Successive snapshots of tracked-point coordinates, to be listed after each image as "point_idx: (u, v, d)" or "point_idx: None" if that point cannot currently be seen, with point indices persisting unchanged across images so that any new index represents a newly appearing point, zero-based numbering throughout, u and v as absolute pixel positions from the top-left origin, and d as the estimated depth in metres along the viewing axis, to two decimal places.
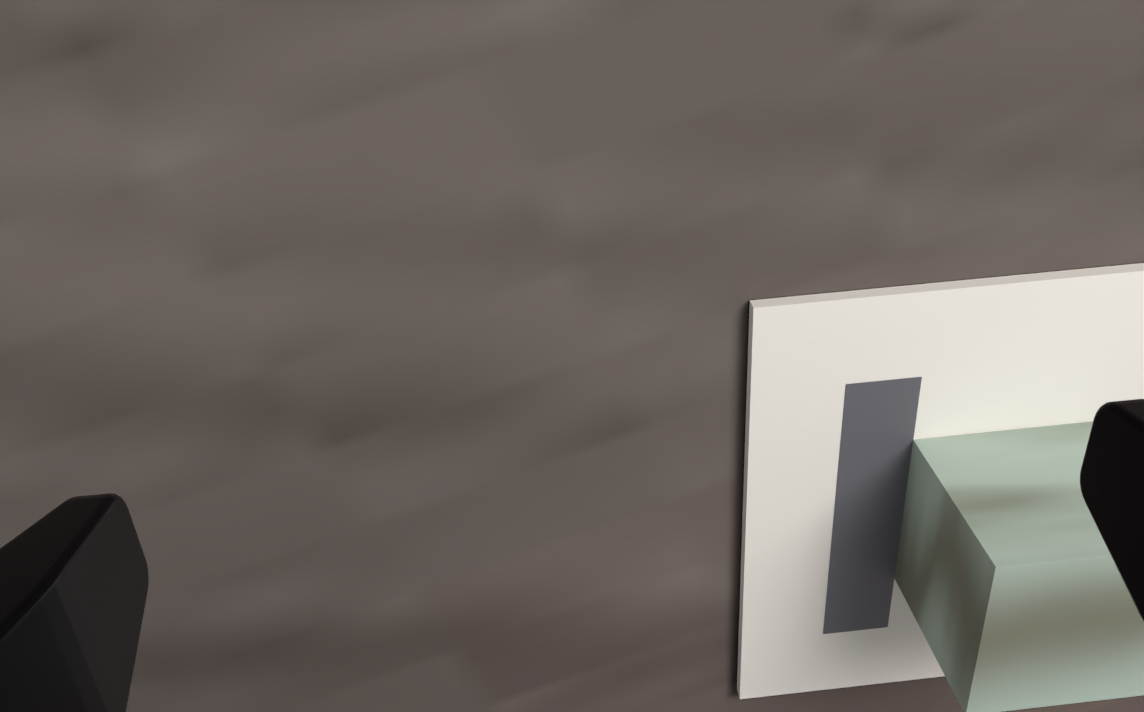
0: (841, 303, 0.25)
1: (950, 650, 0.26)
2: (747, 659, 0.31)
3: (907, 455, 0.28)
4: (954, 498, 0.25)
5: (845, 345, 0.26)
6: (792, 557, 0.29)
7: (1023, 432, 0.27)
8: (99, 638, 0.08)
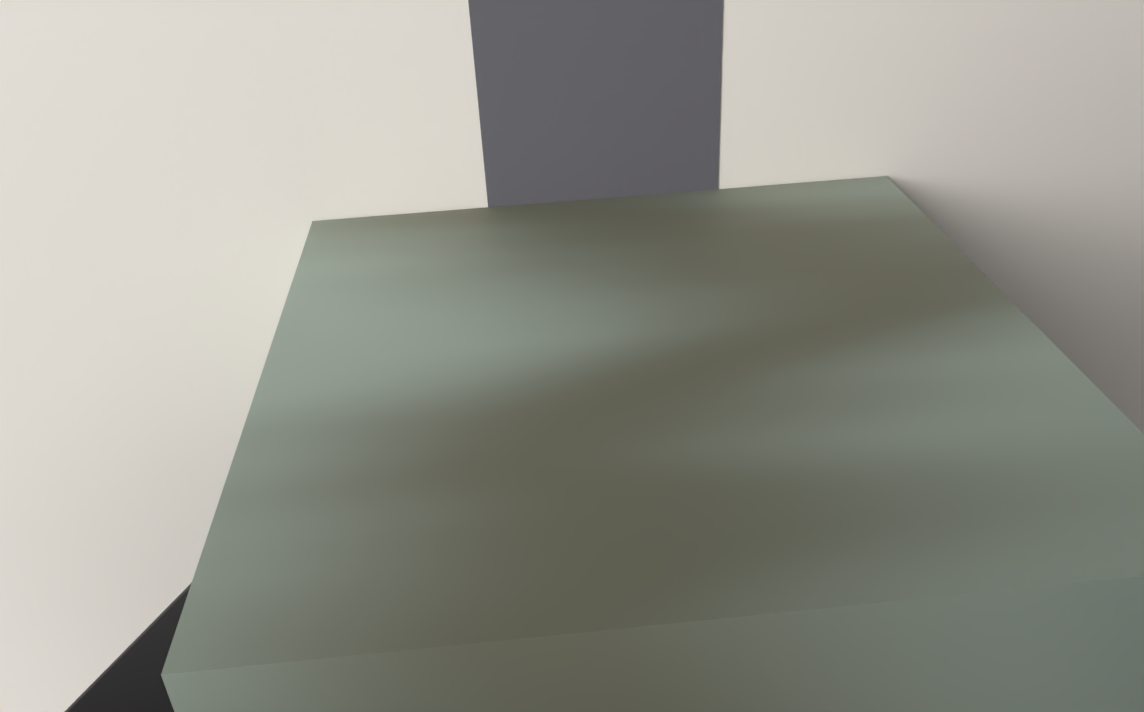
0: None
1: None
2: None
3: None
4: None
5: None
6: None
7: None
8: None
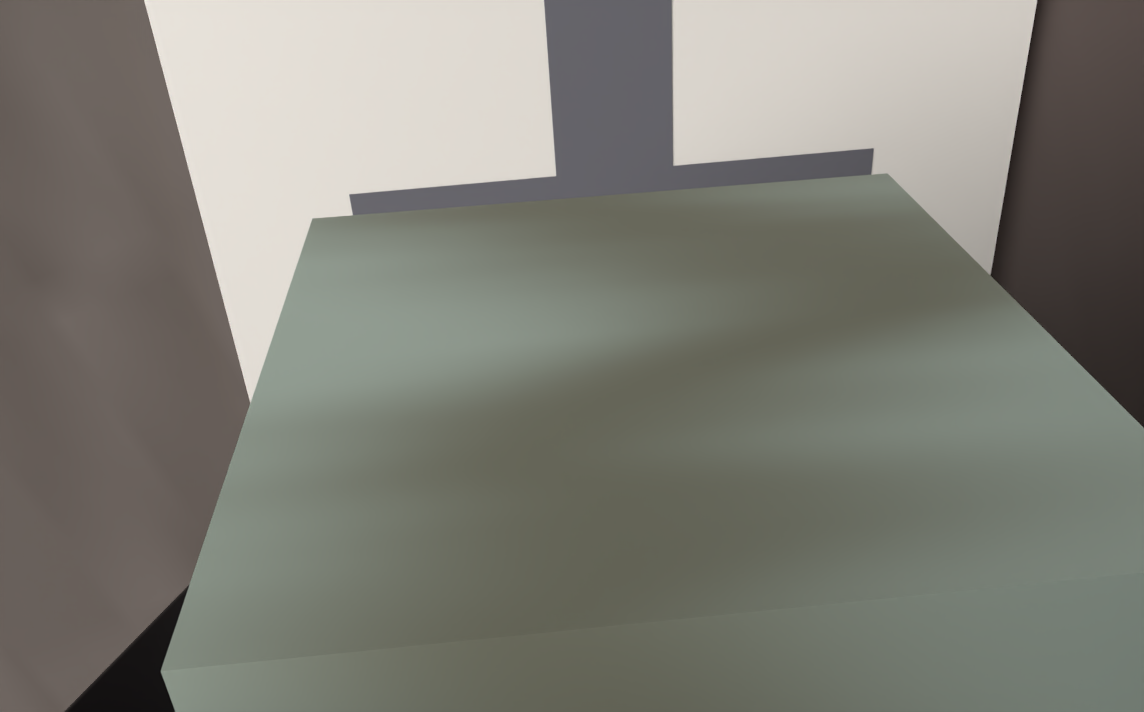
0: (238, 324, 0.18)
1: None
2: None
3: (503, 181, 0.17)
4: None
5: None
6: None
7: None
8: None
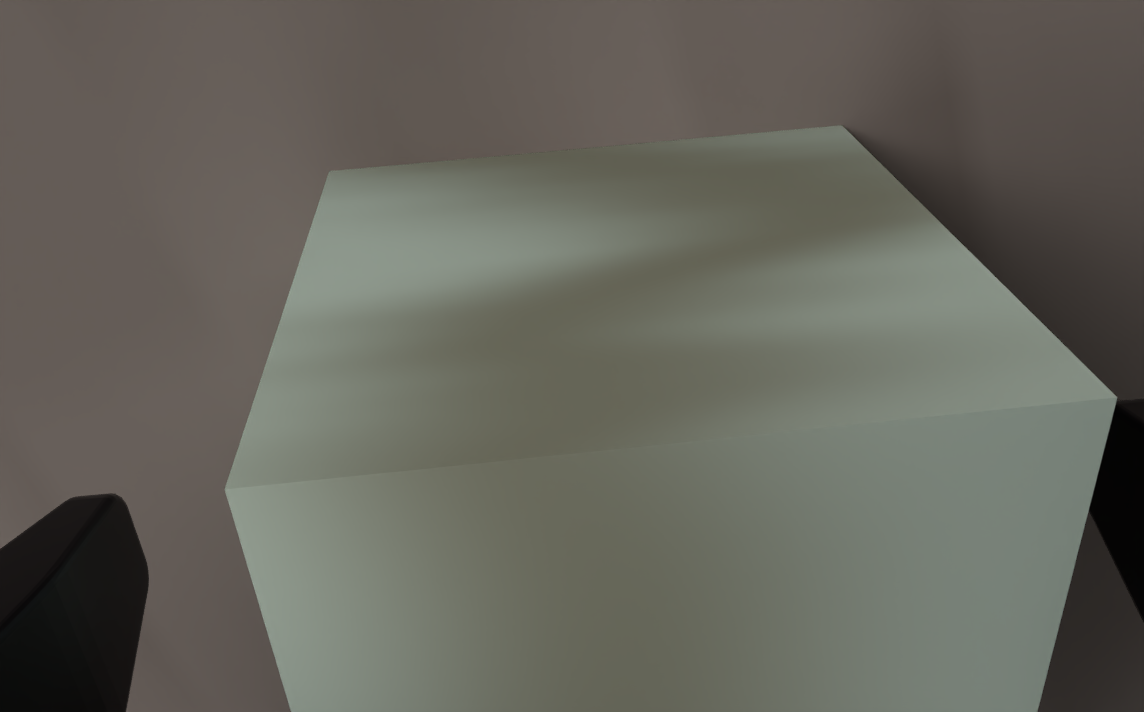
0: None
1: None
2: None
3: None
4: None
5: None
6: None
7: None
8: (99, 638, 0.08)
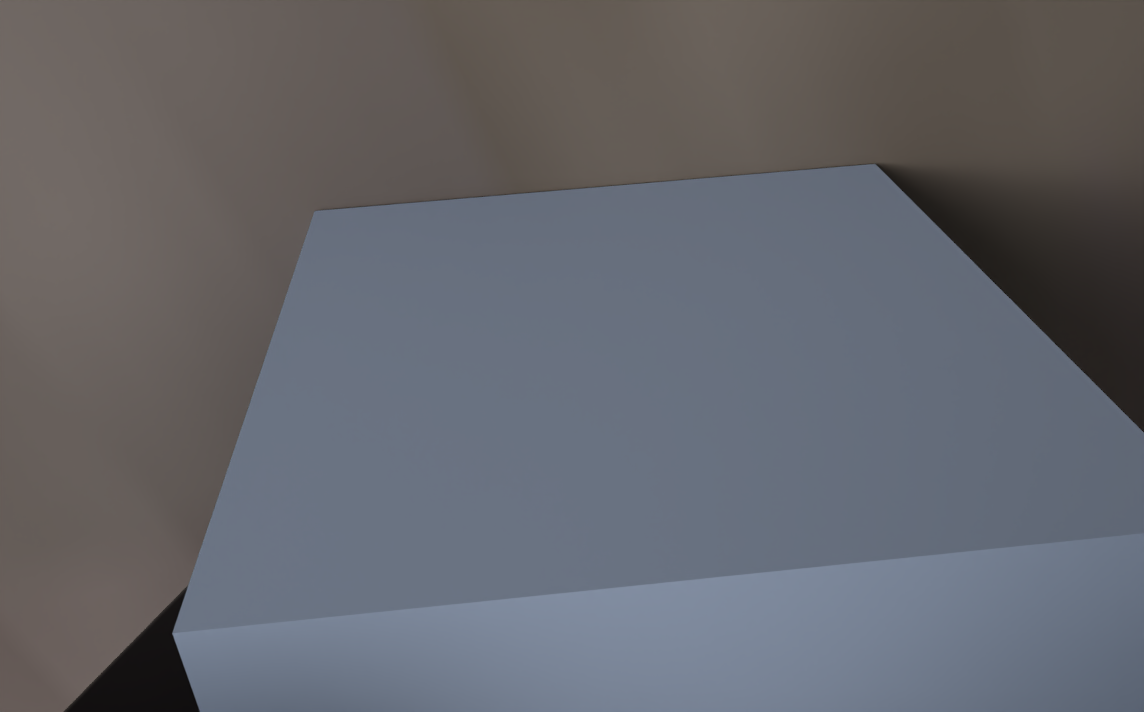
0: None
1: None
2: None
3: None
4: None
5: None
6: None
7: None
8: None
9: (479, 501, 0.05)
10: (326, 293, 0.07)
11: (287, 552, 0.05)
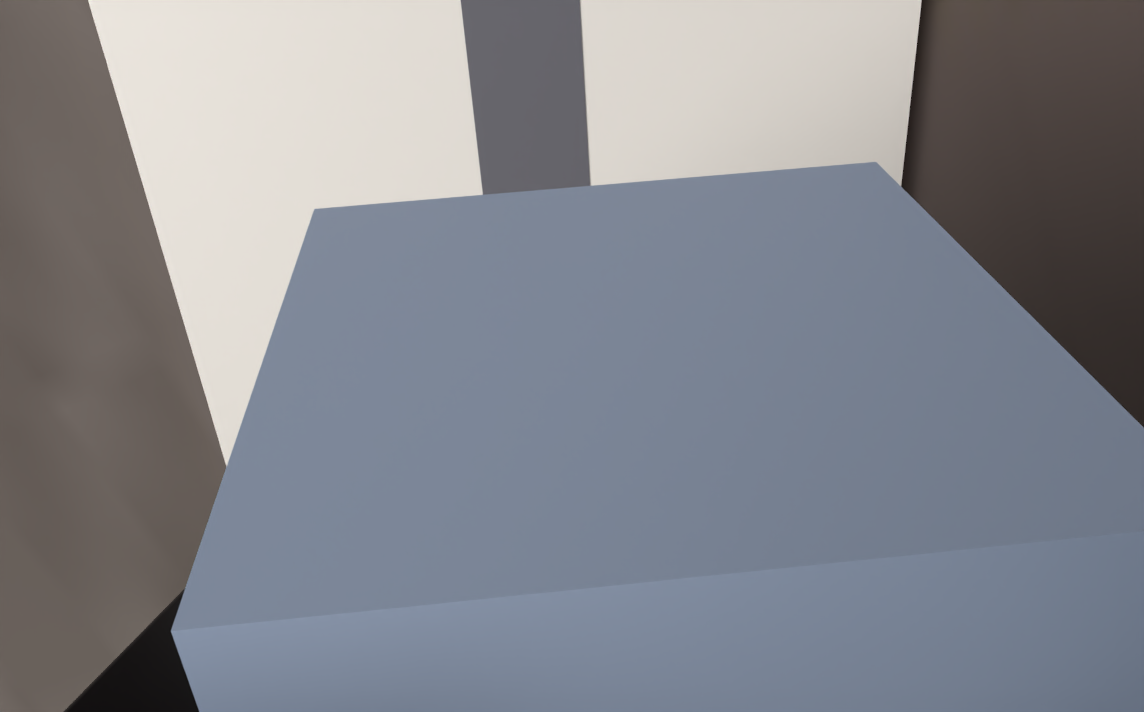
0: (218, 412, 0.21)
1: None
2: None
3: None
4: None
5: None
6: None
7: None
8: None
9: (479, 500, 0.05)
10: (325, 291, 0.07)
11: (286, 550, 0.05)
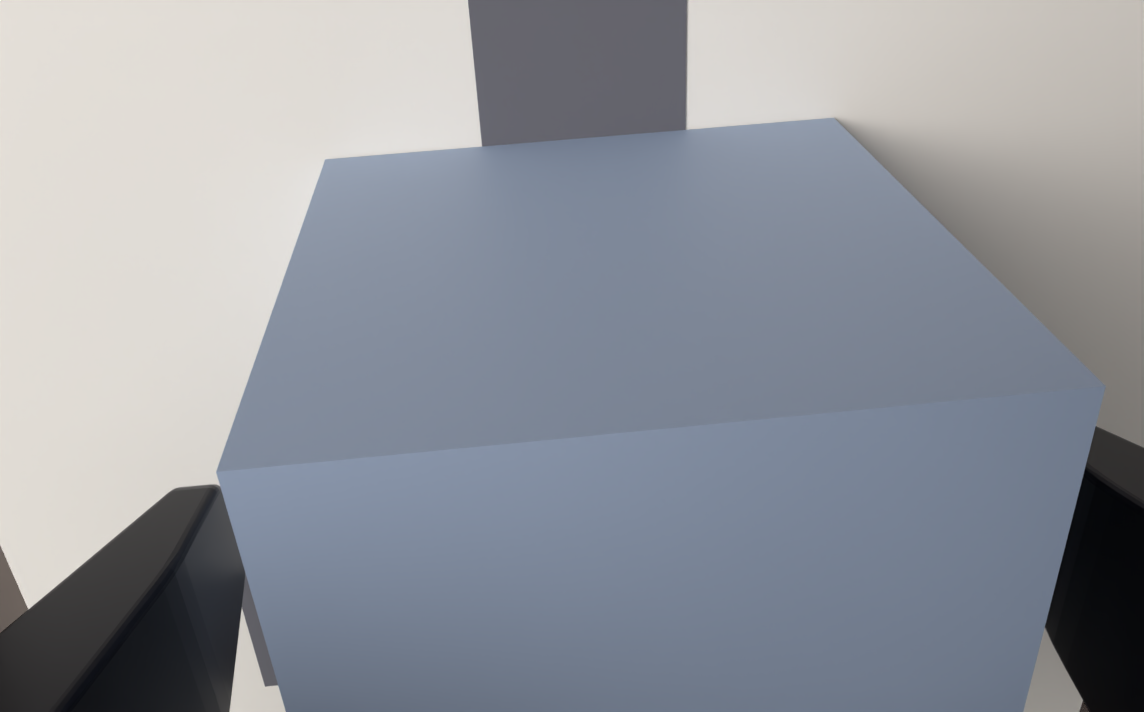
0: None
1: None
2: None
3: None
4: None
5: None
6: None
7: None
8: (209, 627, 0.08)
9: (472, 378, 0.06)
10: (337, 224, 0.08)
11: (309, 415, 0.06)
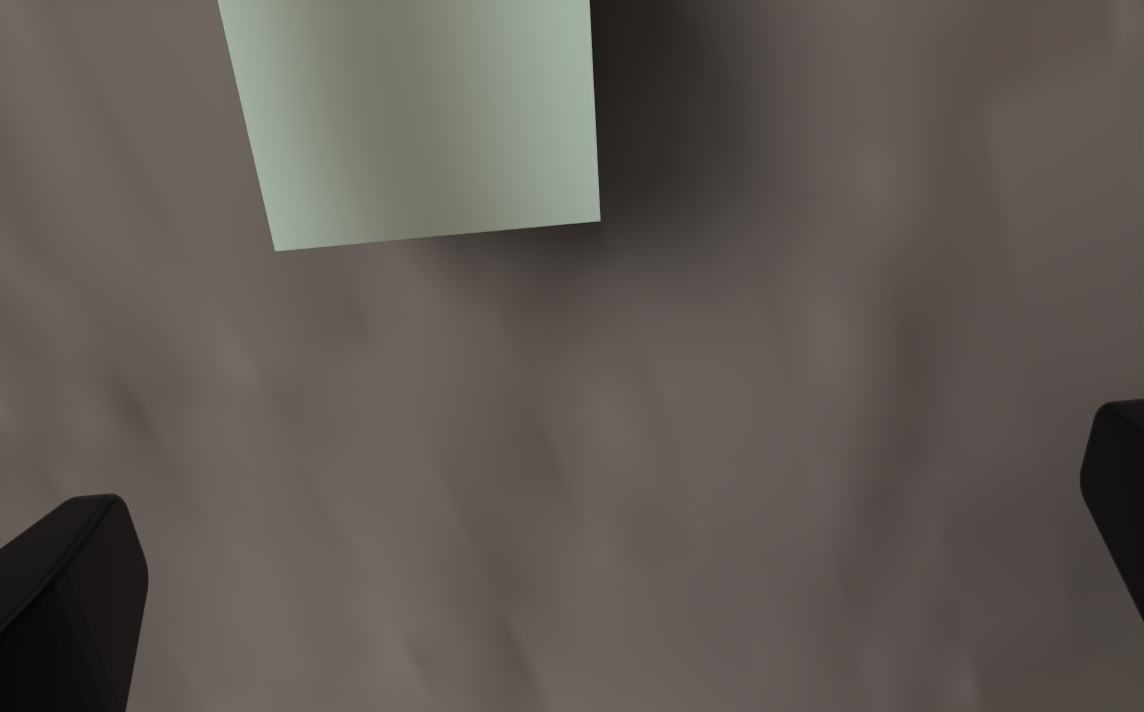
0: None
1: None
2: None
3: None
4: None
5: None
6: None
7: None
8: (99, 638, 0.08)
9: None
10: None
11: None
